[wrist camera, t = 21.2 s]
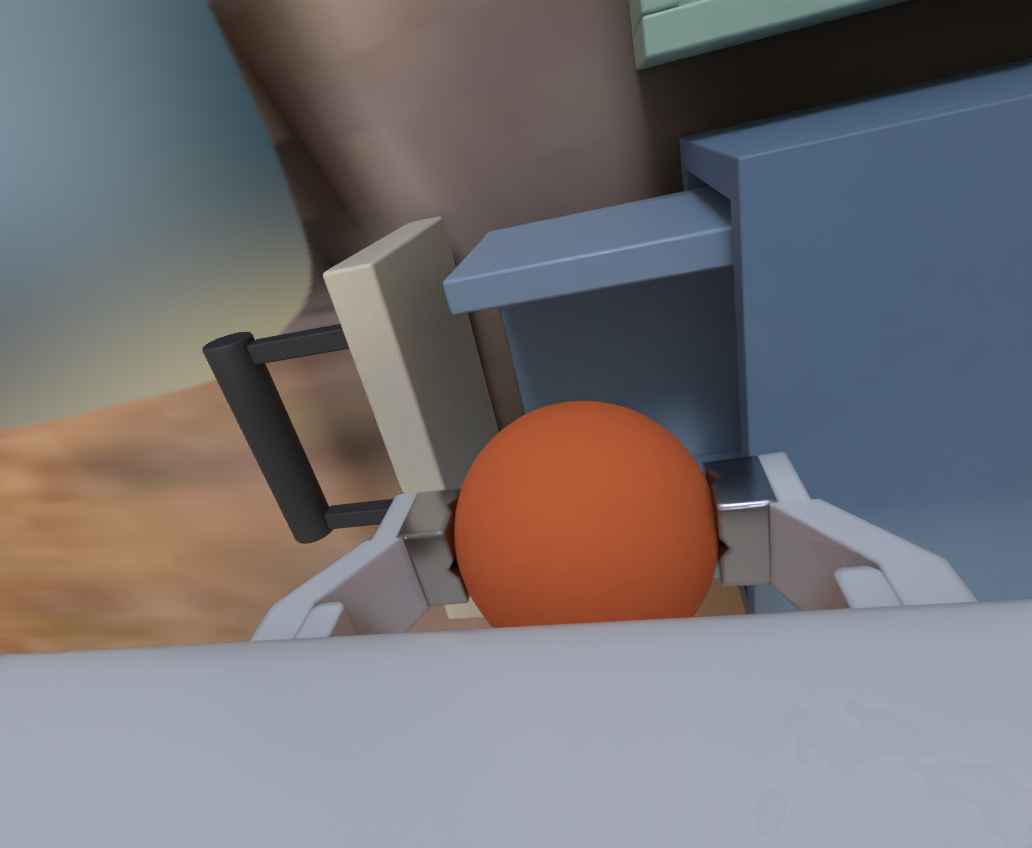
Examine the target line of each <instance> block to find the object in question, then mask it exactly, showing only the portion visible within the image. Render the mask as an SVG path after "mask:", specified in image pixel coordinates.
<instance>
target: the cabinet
mask: <svg viewBox="0 0 1032 848" xmlns="http://www.w3.org/2000/svg"><path fill="white" fill-rule="evenodd" d="M679 141H680V154H681V166H682V179H683V191H687V190H692V189H697V188H701V187H706V186H711V187H713V188H714V189H715V190H717V191H718V192H720V193H721V194H723V195H724V196H726V197H727V198H728V199H730V200H731V220H732V243H733V266H734V289H735V312H736V335H737V358H738V381H739V404H740V426H741V449H742V457H748V456H755V455H761V454H768V453H775V452H784V453H786V454H787V456H788V458H789V460H790V461H791V463H792V465H793V467H794V469H795V470H796V472H797V474H798V476H799V478H800V480H801V481H802V483H803V485H804V487H805V489H806V490H807V492H808V494H809V496H810V498H811V499H822V500H824V501H826V502H828V503H830V504H832V505H834V506H836V507H838V508H840V509H842V510H845V511H847V512H849V513H851V514H853V515H855V516H857V517H859V518H861V519H863V520H865V521H868V522H870V523H872V524H874V525H876V526H878V527H880V528H882V529H884V530H886V531H888V532H890V533H893V534H895V535H897V536H899V537H901V538H903V539H905V540H907V541H909V542H911V543H913V544H916V545H918V546H920V547H922V548H924V549H926V550H928V551H930V552H932V553H934V554H936V555H939V556H941V557H943V558H945V559H946V560H947V561H948V563H949V564H950V565H951V567H952V568H953V569H954V570H955V572H956V573H957V574H958V576H959V577H960V578H961V580H962V581H963V582H964V583H965V585H966V586H967V587H968V589H969V590H970V591H971V593H972V594H973V595H974V596H975V598H976V599H977V600H978V602H979V601H997V600H1016V599H1032V57H1031V58H1026V59H1022V60H1018V61H1013V62H1009V63H1004V64H1000V65H996V66H991V67H987V68H982V69H978V70H974V71H969V72H965V73H960V74H956V75H952V76H947V77H943V78H938V79H934V80H930V81H925V82H921V83H917V84H912V85H908V86H903V87H899V88H895V89H890V90H886V91H881V92H877V93H873V94H868V95H864V96H859V97H855V98H851V99H846V100H842V101H837V102H833V103H829V104H824V105H820V106H816V107H811V108H807V109H802V110H798V111H794V112H789V113H785V114H780V115H776V116H772V117H767V118H763V119H758V120H754V121H750V122H745V123H741V124H736V125H732V126H728V127H723V128H719V129H714V130H710V131H706V132H701V133H697V134H693V135H688V136H684V137H681V138H680V140H679ZM739 589H740V593H741V596H742V599H743V603H744V606H745V610H746V613H747V614H757V613H775V612H793V611H799V610H798V609H797V608H796V607H795V606H794V605H792V604H791V603H790V602H789V601H788V600H787V599H785V598H784V597H783V596H782V595H781V594H780V593H778V592H777V591H776V590H775V589H774V588H773V587H771V585H745V586H739Z"/></svg>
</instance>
